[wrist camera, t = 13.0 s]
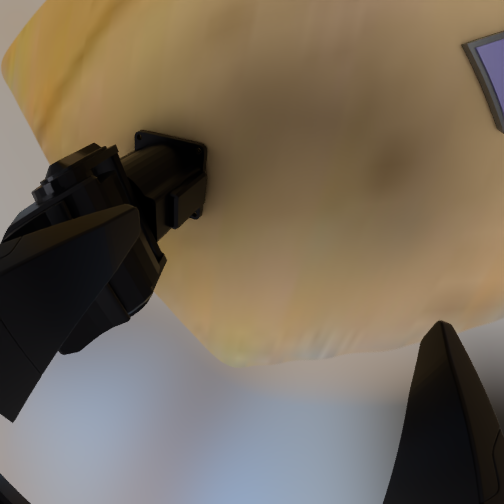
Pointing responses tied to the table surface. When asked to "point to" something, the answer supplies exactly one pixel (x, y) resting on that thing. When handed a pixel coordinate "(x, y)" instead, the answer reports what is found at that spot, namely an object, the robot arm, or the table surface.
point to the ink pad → (490, 71)
